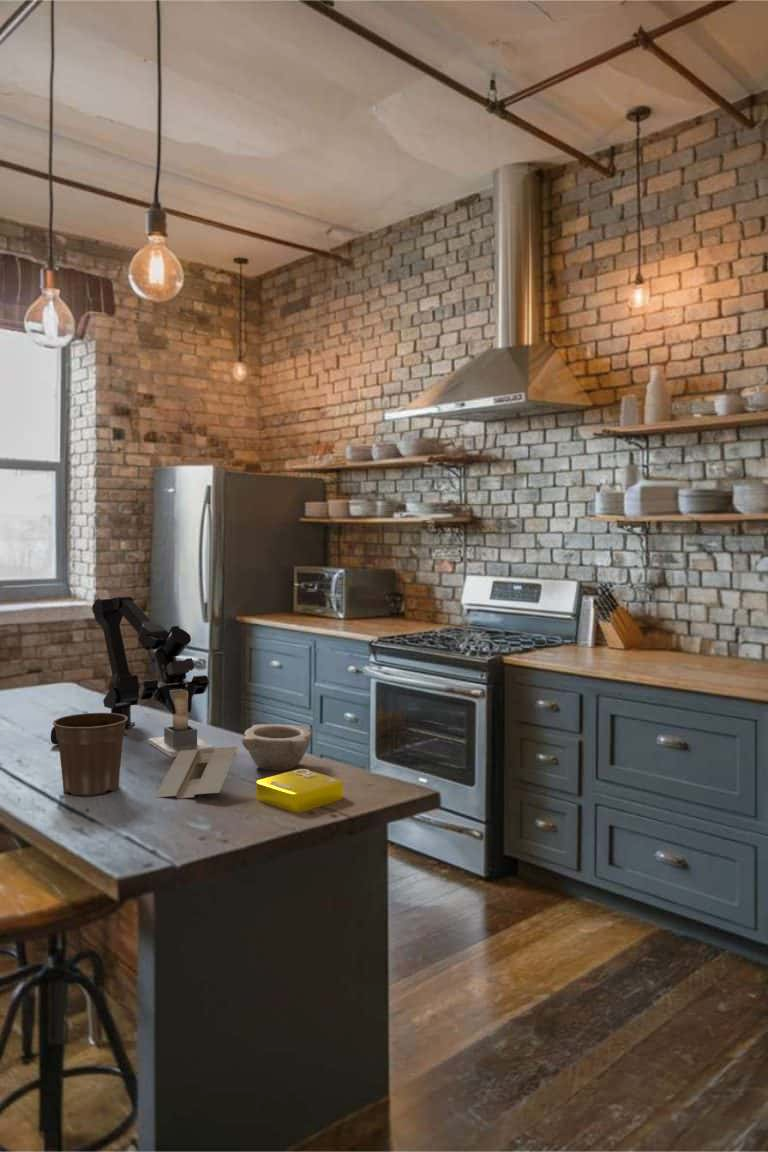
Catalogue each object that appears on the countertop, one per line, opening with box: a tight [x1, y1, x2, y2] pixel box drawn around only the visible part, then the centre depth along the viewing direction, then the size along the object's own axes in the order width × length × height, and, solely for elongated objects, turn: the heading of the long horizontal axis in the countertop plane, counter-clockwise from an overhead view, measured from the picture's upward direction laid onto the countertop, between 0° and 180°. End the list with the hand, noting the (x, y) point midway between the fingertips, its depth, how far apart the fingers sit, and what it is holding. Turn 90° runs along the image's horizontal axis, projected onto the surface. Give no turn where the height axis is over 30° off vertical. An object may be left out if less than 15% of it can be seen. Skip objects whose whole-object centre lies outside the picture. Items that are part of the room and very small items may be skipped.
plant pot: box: [52, 712, 128, 797], centre depth 198 cm, size 16×16×16 cm
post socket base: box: [147, 724, 215, 759], centre depth 237 cm, size 18×12×5 cm, turn 34°
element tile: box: [255, 768, 344, 813], centre depth 194 cm, size 15×15×5 cm
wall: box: [153, 746, 239, 799], centre depth 199 cm, size 16×9×15 cm
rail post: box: [172, 690, 189, 732], centre depth 236 cm, size 4×4×12 cm
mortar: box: [241, 723, 313, 772], centre depth 219 cm, size 17×17×9 cm
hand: (182, 712), depth 235 cm, fingers closed on rail post, 4 cm apart
